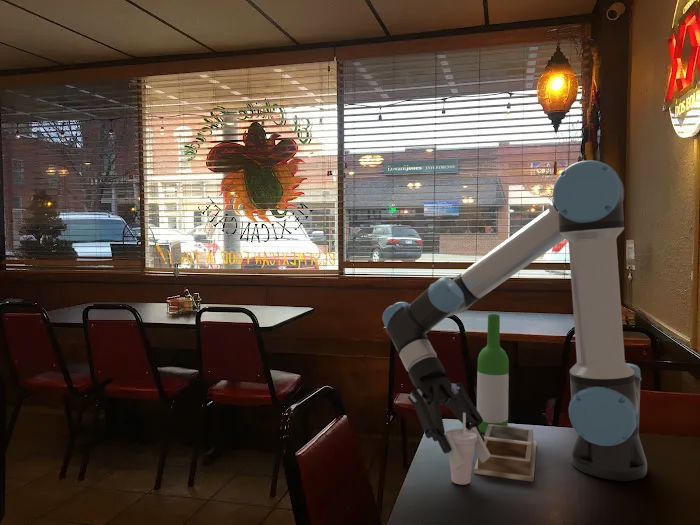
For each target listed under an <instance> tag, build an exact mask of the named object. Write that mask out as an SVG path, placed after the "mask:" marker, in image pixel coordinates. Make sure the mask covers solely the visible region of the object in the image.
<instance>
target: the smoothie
mask: <svg viewBox="0 0 700 525" xmlns="http://www.w3.org/2000/svg"><path fill="white" fill-rule="evenodd" d="M446 433H449V434H450V436H451V437H452V439H453V441H454V443H455V445H456V447H457V449H458V451H459V453H460V455H461V457H462V459H463V461H464V464H463V465H462V466H461V467H460V468H459V469H458V470H455V469H454V467H453V465H452V463H451V461H450V459H449V458H448V459H449V468H450V476H451V482H453V483H454V484H457V485H467V484H468V485H469V484H470V483H471V478H472V472H473V471H472V470H473V462H474V456H475V442H476V441H477V434H476V433H475V432H473V431H470V430H467V429H466V413H463V424H462V428H452V429H449V430H447V431H445V434H446Z"/></svg>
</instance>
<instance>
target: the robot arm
mask: <svg viewBox="0 0 700 525" xmlns="http://www.w3.org/2000/svg"><path fill="white" fill-rule="evenodd" d="M624 199H625V186H624V184H623V181H622V180H621V177H620V176H619V174H618V172H616V170H615V169H614V168H613V167H612V166H610V165H609V164H607V163H604V162H602V161H597V160H581V161H577V162H575V163H572V164H570V165H569V166H567V167H566V168H564V169H563V171H561V173H560V174H559V175H558V177H557V178H556V180H555V182H554V185H553V189H552V200H550V202H549V206H548V209H546V210H544V211H543V212H542V213H540V214H539V215H537V216H536V217H535V218H533V220H531V221H530V222H529V223H527V224H525V225H524V226H523V227H522V228H520V229H519V230H518V231H516V232H515V233H514V234H512V235H511V236H510V237H508V238H507V239H506V240H504V241H503V242H502V243H500V244H499V245H497V246H496V247H495V248H493V249H492V250H491V251H489V252H488V253H487V254H485V255H483V257H481V258H480V259H478V260H477V261H476V262H474V263H472V265H470V266H469V267H467V269H465V270H463V271H462V272H460V274H459V275H457V276H455V277H454V278H449V277H447V276H442V277H440V278H438V279H437V280H436V281H434V282H432V283H431V284H430V285H429V286H428V288H426V289H425V290H424V291H423V292H422V293H421V294H419V296H417V297H415V299H413V301H411V302H410V303H408V302H406V301H398V302H395V303H393V304H392V305H389V306H388V307H386V309H385V310H384V311H383V313H382V317H381V318H382V322H383V324H384V327H385V329H386V333H387V335H388V336H389V337H390V340H391V341H392V344H393V345H394V347H395V349H396V351H397V354H398V356H399V358H400V359H401V362H402V364H403V366H404V368H405V371H406V372H408V376H409V378H410V380H411V382H412V384H413V386H414V387H415V388H416V389H413V390H412V391H411V392H410V393H409V395H408V396H407V398H408V400H409V401H410V403H411V404H412V405H413V408H414V409H415V413H416V415H417V418H418V420H419V423H420V425H421V427H422V430H423V433H424V435H425V437H426V438H427V439H431V438H432V440H433V441H434V442H438V445H439V446H440V449H441V450H442V452H443V453H444V454H446V455H447V457H448V459H450V461H451V463H452V465H453V467H454V469H455V470H458V469H459V468H460V467H461V466H462V465H463V464H464V461H463V459H462V457H461V455H460V453H459V451H458V449H457V447H456V445H455V443H454V441H453V439H452V437H451V436H450V434H449V433H446V431H445V425H444V422H443V416H442V410H441V406H440V404H442V405H443V406H444V407H445V408H448V409H449V410H450V411H451V412H452V414H453V415H454V416H455V417H456V418H457V420H459V422H460V423H461V424H462V425H463V413H466V430H470V431H473V432H475V433H476V434H477V441H476V442H475V450H474V452H475V453H476V455H477V458H478V457H479V459H480V461H481V463H483V462H485V461H486V460H487V459H488V458H490V457H491V455H490V453H489V451H488V449H487V447H486V445H485V443H484V441H485V440H484V436H483V433H482V432H480V430H479V428H478V425H480V424H481V423H482V422H483V419H482V417H481V416H480V414H479V412H478V411H477V407H476V406H475V405H474V402H472V400H471V398H470V397H469V395H468V394H467V392H466V390H465V387H464V386H465V385H464V384H463V382H462V381H458V382H457V383H452V382H451V381H450V380H449V379H448V378H447V377H446V369H445V368H444V365H443V364H442V362H441V360H440V358H438V356H437V355H438V354H437V352H436V351H435V349H434V348H433V346H432V344H431V342H430V339H429V338H428V336H427V333H428V332H430V331H431V330H432V329H433V328H434V327H436V326H438V325H439V323H441V322H442V321H443V320H445V319H446V318H449V317H451V316H454V315H457V314H459V313H464V312H465V311H467V310H468V309H469V308H471V306H472V305H473V304H474V303H476V302H477V301H478V300H480V299H481V298H483V297H484V296H485V295H487V294H488V293H490V292H492V291H493V290H494V289H496V288H497V287H498V286H500V285H501V284H502V283H504V282H505V281H508V279H510V278H511V277H513V276H514V275H516V274H517V273H519V272H520V271H522V270H523V269H524V268H526V267H527V266H529V265H530V264H531V263H533V262H534V261H536V260H537V259H538V258H541V256H543V255H544V254H546V253H547V252H549V251H550V250H552V249H553V248H554V247H556V246H557V245H559V244H560V243H562V242H563V241H564V240H567V242H568V254H569V255H568V256H569V266H570V267H569V268H570V280H571V295H572V308H573V310H572V311H573V323H574V335H575V336H574V337H575V350H576V352H575V353H576V363H575V364H574V365H573V366H572V367H571V368H570V369H569V380H570V382H569V383H570V396H571V397H570V401H569V406H568V411H567V412H568V417H569V420H570V423H571V424H570V425H571V426H572V427H573V429H574V430H575V432H576V433H577V434H576V437H575V440H574V442H573V444H572V447H571V450H570V464H571V465H572V466H573V467H574V468H575V469H577V470H579V471H580V472H582V473H584V474H586V475H590V476H593V477H596V478H600V479H605V480H610V481H623V482H627V481H636V480H640V479H643V478H645V477H646V475H648V474H647V473H648V462H647V458H646V455H645V451H644V448H643V445H642V442H641V439H640V410H641V409H640V406H641V405H640V404H641V403H640V400H641V381H642V377H641V369H640V367H639V366H638V365H636V364H633V363H630V362H628V363H627V362H626V360H625V357H626V356H625V346H624V343H625V342H624V332H623V316H622V304H621V303H622V301H621V287H620V286H621V285H620V275H619V274H620V273H619V261H618V246H617V244H618V243H617V238H618V236H619V235H620V234H622V233H623V231H624V230H625V221H624V220H625V219H624V203H623V202H624ZM450 461H449V462H450Z"/></svg>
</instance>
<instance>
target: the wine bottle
mask: <svg viewBox="0 0 700 525" xmlns="http://www.w3.org/2000/svg"><path fill="white" fill-rule="evenodd" d="M500 317H501V316H500V314H496V313H490V314H488V315H487V344H486V346H485V347H483V348H482V349H481V350H480V352H479V354H478V357H477V370H476V371H477V372H476V373H477V374H476V375H477V376H476V377H477V378H476V382H477V383H476V409H477V411H478V412H479V414H480V416H481V417H482V419H483V422H482V423H481V424H480V425H478V428H479V430H480V432H481V434H484V435H485V433H486V430H487V427H488V424H493V425H502V426H509V383H510V382H509V380H510V376H509V371H510V370H509V366H510V364H509V363H510V361H509V357H508V354H507V353H506V351H505V350H504V349H503V348H502V347H501V345H500V339H501V338H500V329H501V328H500V325H501V324H500V322H501V321H500V319H501V318H500Z"/></svg>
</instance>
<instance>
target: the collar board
mask: <svg viewBox="0 0 700 525" xmlns="http://www.w3.org/2000/svg"><path fill="white" fill-rule="evenodd" d="M483 437H484V440H485V441H484V443H485V445H486V447H487V449H488V451H489V453H490V455H491V457H490V458H488V459H487V460H486V461H485V462H483V463H481V461H480V459H479V457H478V456H477V459H476V462H475V465H474V468H473V474H475V475H484V476H488V477H489V476H490V477H498V478H505V479H511V480H518V481H525V482H531V483H534V481H535V480H534V479H535V467H536V456H537V441H536V440H534V428H529V427H528V428H527V427H526V428H525V427H517V426H512V425H511V426H510V425H508V426H502V425H493V424H488V427H487V430H486V433H485V434H484V436H483Z"/></svg>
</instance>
